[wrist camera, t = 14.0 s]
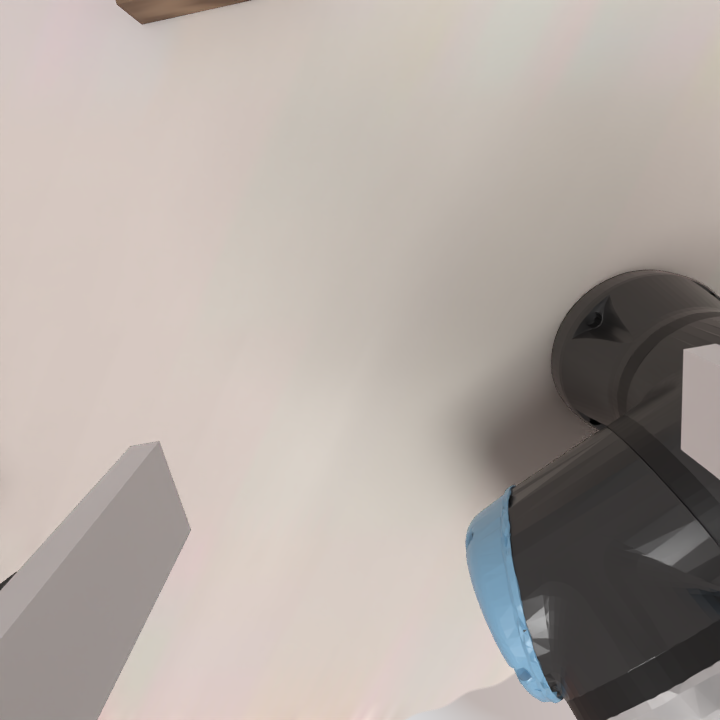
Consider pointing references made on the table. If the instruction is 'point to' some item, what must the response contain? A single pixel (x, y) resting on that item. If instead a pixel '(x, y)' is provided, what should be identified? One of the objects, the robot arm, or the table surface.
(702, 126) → the table surface
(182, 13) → the pedestal
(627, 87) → the table surface
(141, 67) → the table surface
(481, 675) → the table surface
